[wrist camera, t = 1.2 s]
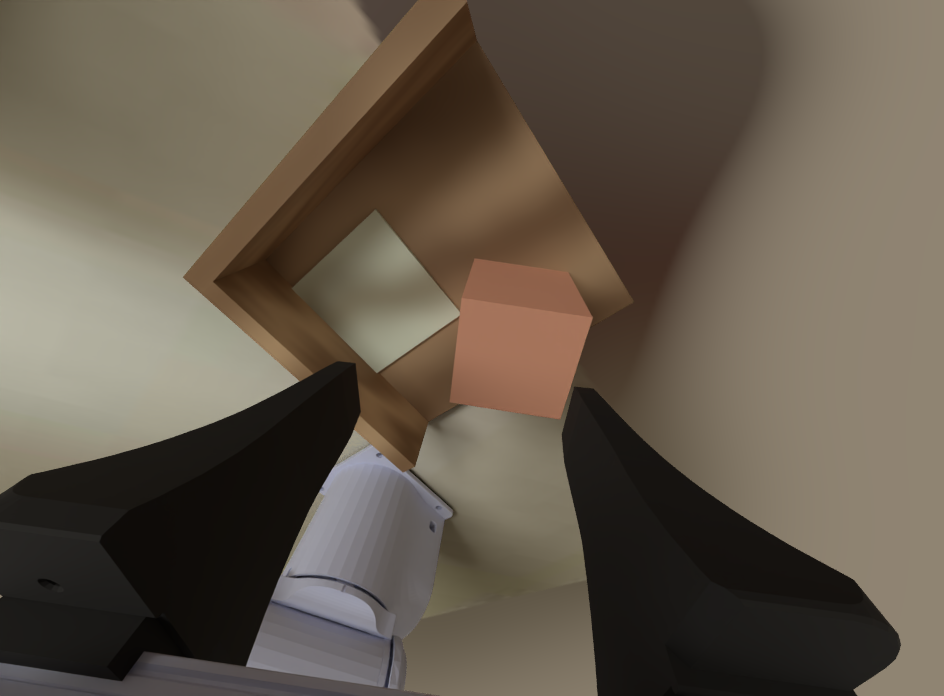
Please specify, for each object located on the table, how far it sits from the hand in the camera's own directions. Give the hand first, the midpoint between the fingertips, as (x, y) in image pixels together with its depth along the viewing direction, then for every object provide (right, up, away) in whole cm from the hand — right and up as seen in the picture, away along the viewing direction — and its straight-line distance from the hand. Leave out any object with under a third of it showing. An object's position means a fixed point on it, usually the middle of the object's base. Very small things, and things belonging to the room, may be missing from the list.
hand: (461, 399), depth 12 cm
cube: (+3, +4, +8) cm, 9 cm away
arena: (-2, +6, +8) cm, 10 cm away
